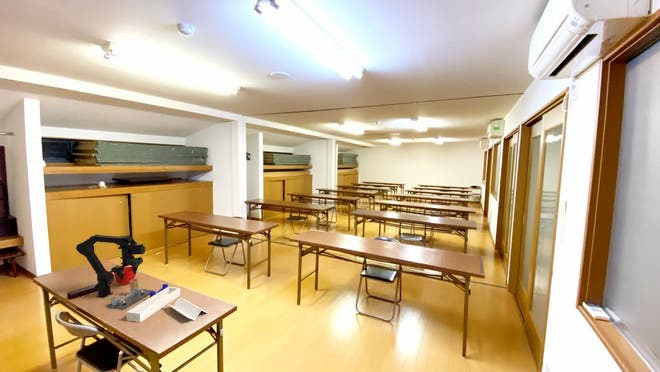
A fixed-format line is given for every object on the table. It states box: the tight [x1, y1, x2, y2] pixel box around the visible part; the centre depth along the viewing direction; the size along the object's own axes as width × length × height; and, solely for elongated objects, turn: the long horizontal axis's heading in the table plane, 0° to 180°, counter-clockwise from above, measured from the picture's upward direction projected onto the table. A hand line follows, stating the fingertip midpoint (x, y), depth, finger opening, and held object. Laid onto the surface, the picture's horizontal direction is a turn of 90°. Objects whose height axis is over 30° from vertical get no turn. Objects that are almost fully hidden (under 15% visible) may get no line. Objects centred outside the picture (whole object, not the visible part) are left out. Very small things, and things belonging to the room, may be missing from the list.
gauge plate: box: [107, 287, 155, 311], centre depth 176 cm, size 12×22×5 cm, turn 169°
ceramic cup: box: [113, 266, 137, 286], centre depth 200 cm, size 13×17×10 cm
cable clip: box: [149, 283, 169, 298], centre depth 181 cm, size 12×4×6 cm, turn 170°
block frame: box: [125, 286, 181, 323], centre depth 168 cm, size 9×31×5 cm, turn 169°
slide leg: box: [129, 278, 144, 294], centre depth 181 cm, size 8×3×9 cm, turn 79°
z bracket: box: [166, 296, 209, 321], centre depth 164 cm, size 12×25×6 cm
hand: (128, 277), depth 183 cm, fingers open, 9 cm apart
